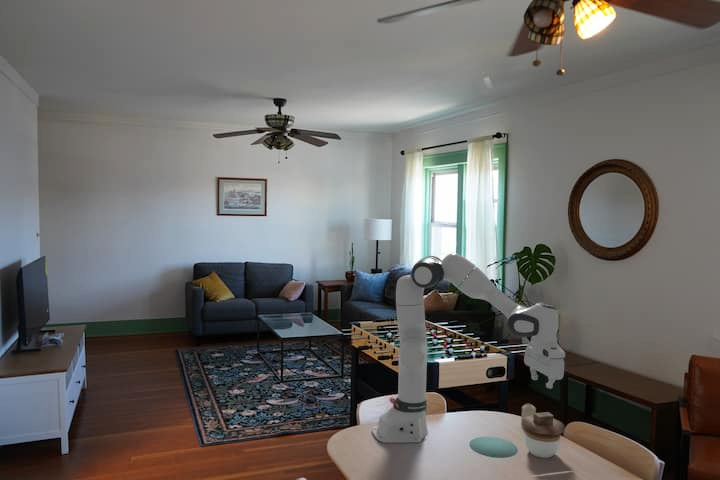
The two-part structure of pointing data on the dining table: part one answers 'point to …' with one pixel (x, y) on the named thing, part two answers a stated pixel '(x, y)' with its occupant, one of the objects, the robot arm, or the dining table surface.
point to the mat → (493, 447)
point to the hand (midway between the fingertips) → (541, 383)
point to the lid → (543, 424)
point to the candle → (527, 411)
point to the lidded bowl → (542, 444)
